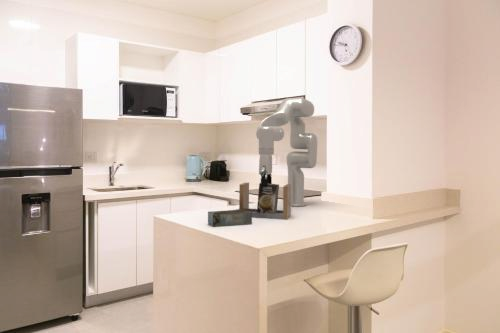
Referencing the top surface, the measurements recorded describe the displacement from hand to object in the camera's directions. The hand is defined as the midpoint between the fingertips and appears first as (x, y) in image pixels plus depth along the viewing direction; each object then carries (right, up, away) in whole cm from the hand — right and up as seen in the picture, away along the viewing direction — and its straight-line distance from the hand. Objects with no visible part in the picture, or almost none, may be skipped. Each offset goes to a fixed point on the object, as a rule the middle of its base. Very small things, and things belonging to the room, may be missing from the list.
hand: (266, 185), depth 207 cm
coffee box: (0, -15, 0) cm, 15 cm away
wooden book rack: (-1, -15, 0) cm, 15 cm away
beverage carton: (-17, -17, -20) cm, 31 cm away
